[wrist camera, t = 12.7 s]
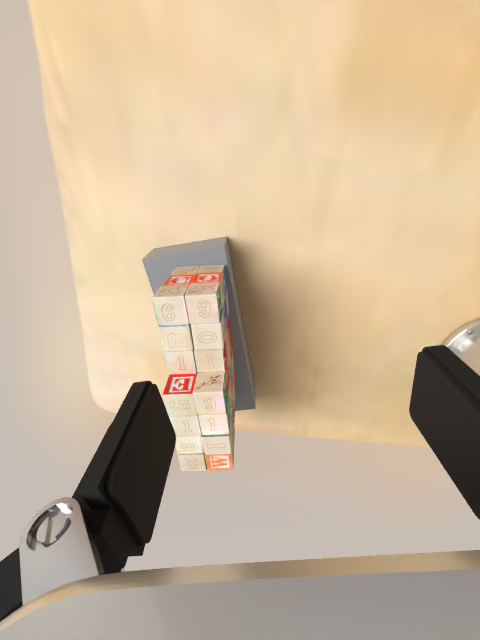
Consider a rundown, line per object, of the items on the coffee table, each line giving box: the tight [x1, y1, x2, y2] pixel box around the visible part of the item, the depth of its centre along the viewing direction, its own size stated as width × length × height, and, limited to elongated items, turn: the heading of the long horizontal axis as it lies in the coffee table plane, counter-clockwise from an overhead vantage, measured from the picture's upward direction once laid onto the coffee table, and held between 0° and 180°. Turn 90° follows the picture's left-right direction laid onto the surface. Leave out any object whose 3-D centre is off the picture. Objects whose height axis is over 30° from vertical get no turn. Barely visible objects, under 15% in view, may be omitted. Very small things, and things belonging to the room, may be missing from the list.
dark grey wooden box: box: [142, 237, 255, 411], centre depth 42 cm, size 10×26×5 cm, turn 10°
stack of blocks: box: [152, 265, 236, 471], centre depth 34 cm, size 21×6×12 cm, turn 3°
